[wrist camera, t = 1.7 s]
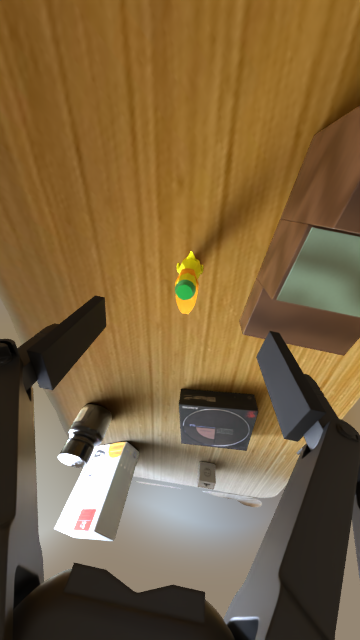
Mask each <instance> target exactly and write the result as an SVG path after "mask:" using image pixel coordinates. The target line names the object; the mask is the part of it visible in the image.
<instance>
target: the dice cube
mask: <svg viewBox="0 0 360 640" xmlns="http://www.w3.org/2000/svg"><path fill="white" fill-rule="evenodd" d="M215 484H216V478H215V464H212V463H206V462H199V467H198V487H202V488H208V489H214V486H215Z"/></svg>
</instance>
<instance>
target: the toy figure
mask: <svg viewBox="0 0 360 640" xmlns="http://www.w3.org/2000/svg"><path fill="white" fill-rule="evenodd" d="M203 268H204V266H203V264H202V265H200V261H199V260H197V259H196V258H195V256H194V254H193V253H192V251H191V252H190V254H189V255H188V257H187V258H186V259H183V262H182V264H181V266H180V263H178V264H177V271H178V273H180V274H179V276H178V278H177V280H176V284H175V293H176V302H177V305H178V308H179V309H180V311H181V313H185V314H189V312H190V311H191V310H192V309H193V307H194V305H195V302H196V298H197V294H198V285H199V284H198V281H197V279H198V278H199V276H200V274H202V273H203Z"/></svg>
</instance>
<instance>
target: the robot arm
mask: <svg viewBox="0 0 360 640" xmlns="http://www.w3.org/2000/svg"><path fill="white" fill-rule="evenodd" d="M105 327H106V312H105V297H100V296H94V297H93V298H92V299H90V300H89V301H88V302H87V303H85V304H84V305H83V306H82V307H80V308H79V309H78V310H77V311H75V312H74V313H73V314H72V315H70V316H69V317H68V318H66V319H65V320H64V321H63V322H61V323H60V324H52V325H50V326H47V327H45V328H44V329H43V330H41V331H40V332H39V333H37V334H36V335H35V336H34V337H32V338H31V339H29V340H28V341H27V342H25V343H24V344H23V345H21V346H20V347H19V348H17V347H16V344H15V342H14V341H13V340H11V339H0V640H335V630H336V623H337V617H338V610H339V603H340V596H341V589H342V582H343V575H344V568H345V561H346V554H347V547H348V540H349V533H350V526H351V520H352V522H353V531H354V539H355V546H356V554H357V562H358V570H359V577H360V435H359V433H358V432H357V431H356V430H355V429H354V428H353V427H352V426H351V425H349V424H348V423H347V422H345V421H343V420H341V419H339V418H338V417H337V415H336V413H335V412H334V410H333V409H332V407H331V406H330V404H329V402H328V401H327V399H326V398H325V397H324V394H323V393H322V391H320V388H319V387H318V385H317V383H316V382H315V381H314V380H313V379H312V378H311V377H310V376H309V375H307V374H303V372H302V370H301V369H300V367H299V365H298V363H297V362H296V360H295V358H294V357H293V355H292V353H291V352H290V350H289V348H288V347H287V345H286V343H285V341H284V340H283V338H282V336H281V335H280V333H278V332H273V331H269V333H268V335H267V337H266V339H265V341H264V343H263V345H262V347H261V349H260V351H259V353H258V355H257V360H258V363H259V366H260V369H261V372H262V375H263V378H264V381H265V384H266V387H267V390H268V393H269V396H270V399H271V402H272V405H273V408H274V410H275V413H276V416H277V419H278V422H279V425H280V428H281V431H282V434H283V437H284V439H288V440H293V441H297V442H298V441H299V440H300V439H301V438H302V437H303V436H304V438H305V440H306V442H307V443H306V444H305V445H304V446H303V447H302V448H301V449H300V450H299V451H298V452H297V454H298V455H299V454H300V456H299V458H298V460H297V463H296V465H295V467H294V469H293V472H292V474H291V476H290V479H289V481H288V483H287V486H286V488H285V490H284V493H283V495H282V497H281V500H280V502H279V504H278V507H277V509H276V511H275V513H274V516H273V518H272V520H271V523H270V525H269V527H268V530H267V532H266V534H265V536H264V539H263V541H262V543H261V546H260V548H259V550H258V553H257V555H256V557H255V560H254V562H253V564H252V567H251V569H250V571H249V573H248V576H247V578H246V580H245V582H244V584H243V585H242V587H241V588H240V590H239V591H238V592H237V594H236V595H235V597H234V598H233V600H232V602H231V604H230V606H229V608H228V611H227V613H226V615H225V617H224V619H223V618H222V617H221V616H220V614H219V613H218V612H217V611H216V609H215V608H214V607H213V606H212V605H211V604H210V603H209V602H207V601H206V600H205V592H203V591H198V590H194V589H189V588H185V587H180V586H176V585H170V586H166V587H161V588H157V589H153V590H148V591H144V592H140V593H136V592H134V591H133V590H131V589H130V588H129V587H127V586H126V585H125V584H124V583H122V582H121V581H120V580H118V579H117V578H116V577H114V576H113V575H112V574H111V573H109V572H108V571H107V570H104V569H99V568H95V567H91V566H86V565H82V564H78V563H74V565H73V567H72V569H70V570H66V571H63V572H61V573H58V574H56V575H55V576H53V577H51V578H49V579H48V580H46V581H45V582H44V574H43V557H42V550H41V546H40V542H39V535H38V511H37V483H36V456H35V429H34V400H33V388H32V385H33V384H34V383H35V382H36V381H38V384H39V387H40V388H45V389H50V390H53V389H54V388H55V387H56V386H57V385H58V383H59V382H60V381H61V380H62V379H63V377H64V376H65V375H66V374H67V373H68V371H69V370H70V369H71V368H72V367H73V365H74V364H75V363H76V362H77V361H78V359H79V358H80V357H81V356H82V355H83V353H84V352H85V351H86V350H87V349H88V347H89V346H90V345H91V344H92V343H93V342H94V340H95V339H96V338H97V337H98V336H99V334H100V333H101V332H102V331H103V330H104V328H105Z"/></svg>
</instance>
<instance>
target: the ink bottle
mask: <svg viewBox="0 0 360 640" xmlns="http://www.w3.org/2000/svg"><path fill="white" fill-rule="evenodd" d="M111 421H112V415H111V413H110V411H109V410H107V409H106V408H104V407H102V406H99V405H94V404H88V405H85V406H84V407H83V408H82V409H81V411H80V413H79V414H78V416H77V417H76V419H75V421H74V422H73V424H72V426H71V428H70V430H69V435H70V439H68V441H67V442H66V444H65V446H64V447H63V449H62V451H61V452H60V454H59V457H58V458H59V459H60V460H61V461H62V462H63V463H65V464H67V465H69V466H72V467H77V468H84V467H86V466H87V464H88V462H89V460H90V457H91V455H92V453H93V451H94V447H95V446H97V445H99V444H100V443H101V442H102V441H103V439H104V437H105V434H106V432H107V430H108V428H109V425H110V423H111Z"/></svg>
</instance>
